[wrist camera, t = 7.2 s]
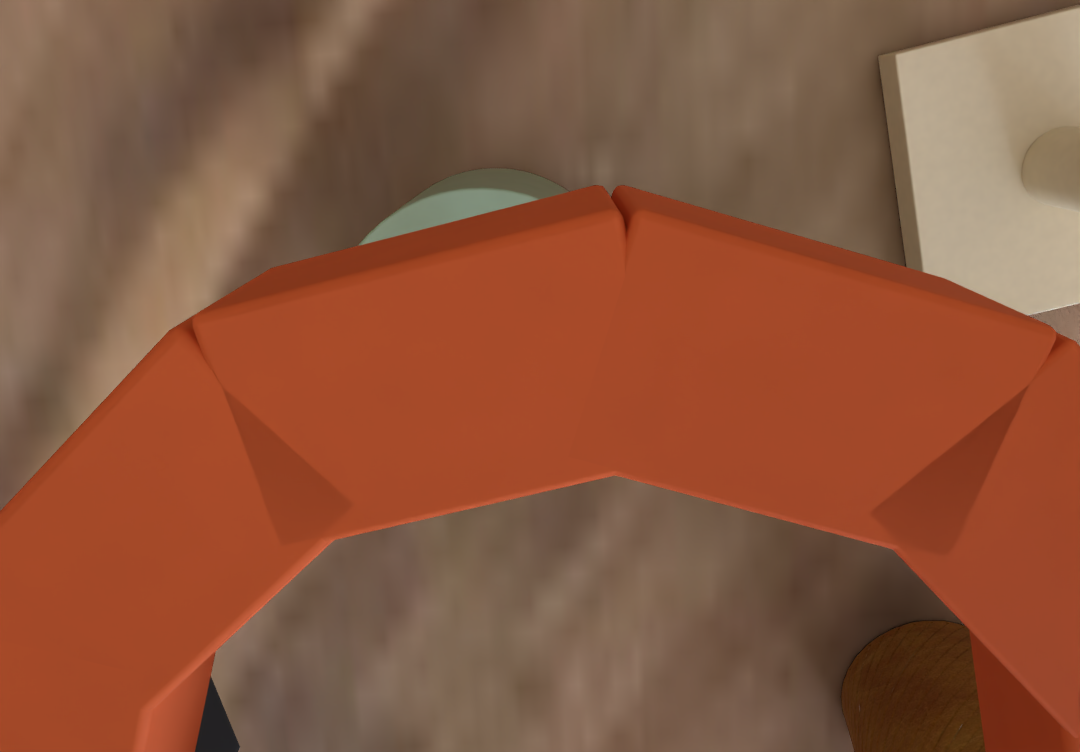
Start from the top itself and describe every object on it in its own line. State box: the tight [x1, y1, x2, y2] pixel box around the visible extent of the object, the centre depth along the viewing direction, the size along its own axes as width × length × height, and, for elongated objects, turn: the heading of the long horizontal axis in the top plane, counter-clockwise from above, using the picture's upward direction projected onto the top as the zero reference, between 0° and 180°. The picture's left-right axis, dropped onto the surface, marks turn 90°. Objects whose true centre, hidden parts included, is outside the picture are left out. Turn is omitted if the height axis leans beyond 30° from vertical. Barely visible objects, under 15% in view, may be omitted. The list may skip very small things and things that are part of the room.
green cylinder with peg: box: [358, 168, 569, 246], centre depth 26 cm, size 8×8×10 cm
